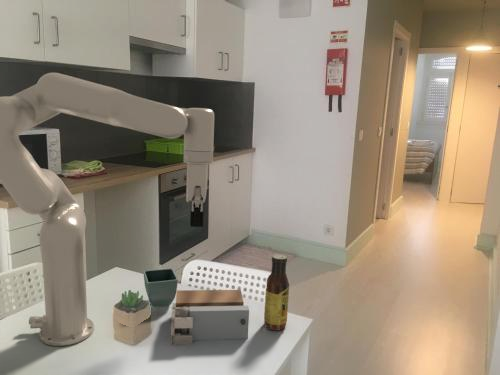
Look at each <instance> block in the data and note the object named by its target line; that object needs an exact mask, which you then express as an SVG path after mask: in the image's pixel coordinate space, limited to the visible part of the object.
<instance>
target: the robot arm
mask: <svg viewBox="0 0 500 375" xmlns="http://www.w3.org/2000/svg"><path fill="white" fill-rule="evenodd" d="M61 113H62V114H66V115H69V116H75V117H78V118H82V119H87V120H91V121H95V122H99V123H103V124H107V125H110V126H113V127H120V128H125V129H129V130H133V131H136V132H140V133H145V134H149V135H152V136H158V137H162V138H165V139H170V140H171V139H178V138H180V137H182V136H183V163H184V164H187V165H186V166H187V167H186V189H185V191H186V193H185V196H186V197H185V198H186V199H185V201H186V202H187V203H189V202H190V215H189V216H190V217H189V218H190V219H189V220H190V223H189V225H190V227H191V228H194V227H195V228H203V227H204V209H203V208H204V203H205V201H206V198H207V190H208V176H209V165H212V164H213V163H214V142H215V140H214V136H215V135H214V134H215V112H214V110H212V108H211V109H210V108H206V107H203V108H202V107H189V108H187V107H186V108H185V107H177V106H175V105H169V104H166V103H163V102H158V101H155V100H150V99H147V98H144V97H140V96H137V95H134V94H130V93H128V92H125V91H123V90H121V89H118V88H115V87H112V86H107V85H103V84H100V83H96V82H92V81H89V80H87V79H86V80H85V79H81V78H79V77H75V76H70V75H67V74H63V73H59V72H48V73H45V74H43V75H42V76H41V77H40V78H39V79H38V81H37V83H36V84H34V85H32V86H29V87H28V88H26V89H23V90H22V91H19V92H17V93H14V94H13V95H11V96H9V95H7V96H6V95H5V96H0V183H1V185H2V186H3V187H4V189H5V190H6V192H7V193H8V194H9V195H10V197H11V198H12V199H13V200H14V202H15V204H16V205H17V206H18V207H19V208H20V210H22V211H23V212H25V213H27V214H29V215H32V216H35V215H36V216H37V215H39V217H40V218H41V219H42V220H43V223H42V225H41V228H40V231H39V248H40V254H41V260H42V261H41V262H42V276H43V278H42V279H43V291H44V292H43V293H44V308H45V309H44V310H45V314H44V315H42V316H35V315H34V316H29V318H28V324H29V327H30V329H40V330H39V339H40V341H41V342H42V343H43V344H46V345H48V346H54V347H55V346H56V347H63V346H70V345H74V344H77V343H80V342H82V341H84V340H86V339H87V338H89V337H90V336H91V335H92V334H93V332H94V328H95V326H94V325H95V324H94V321H93V320H91V319H90V318H89V317H88V305H87V302H88V301H87V280H86V279H87V276H86V273H87V272H86V256H85V255H86V254H85V233H86V232H85V231H86V228H87V227H86V226H87V217H86V214H85V211H84V210H83V209H82V207H81V205H80V204H79V203H78V201H77V200H76V199H75V198H76V197H74V196H73V194H72V193H71V191H70V190H69V189H68V187H67V186H66V184H65V183H64V182H63V180H62V178H61V177H59V176H58V175H57V174H56V173H55V172H54V171H51V170H50V169H47V168H41V167H40V166H39V164H38V163H37V162H36V159H34V157H33V155H32V153H30V151H29V150H28V149H27V148H26V147H25V146H24V144H23V143H22V142H21V140H20V134H22V133H24V132H27V131H28V130H30V129H32V128H34V127H36V126H38V125H41V124H42V123H44V122H46V121H48V120H50V119H52V118H54V117H56V116H58V115H59V114H61Z"/></svg>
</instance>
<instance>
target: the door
mask: <svg viewBox="0 0 500 375" xmlns="http://www.w3.org/2000/svg"><path fill="white" fill-rule="evenodd" d="M180 317H193V328H180V334H192V341H211V340H212V341H215V340H218V341H219V340H248V339H249V324H250V323H249V322H250V308H249V306H248V305H243V306H194V307H190V308H189V307H181V308H180Z"/></svg>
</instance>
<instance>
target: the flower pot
mask: <svg viewBox="0 0 500 375" xmlns="http://www.w3.org/2000/svg"><path fill="white" fill-rule="evenodd" d="M143 282H144V289H145V292H146V295H147V298H148V301H150V302H149V304H150V303H151V304H150V306H151V307H152V308H160V307H161V308H162V307H166V306H167V307H169V306H171V305H172V304H173V302H174V300H175V299H176V294H177V291H178V283H179V278H178V277H177V274H176V273H175V271H174V269H173V268H161V269H152V270H151V269H150V270H144V271H143Z"/></svg>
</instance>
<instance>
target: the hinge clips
mask: <svg viewBox="0 0 500 375" xmlns="http://www.w3.org/2000/svg"><path fill="white" fill-rule="evenodd" d="M180 308H181V307H176V302H174V303H173V302H172V310H171V319H170V320H171V322H170V346H189V345H193V340H192V334H180V328H193V317H180ZM189 308H190V307H189Z"/></svg>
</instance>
